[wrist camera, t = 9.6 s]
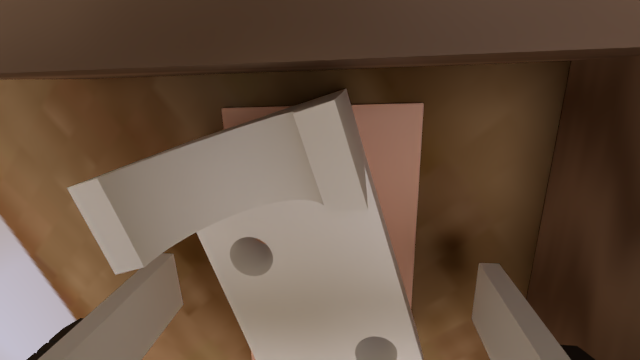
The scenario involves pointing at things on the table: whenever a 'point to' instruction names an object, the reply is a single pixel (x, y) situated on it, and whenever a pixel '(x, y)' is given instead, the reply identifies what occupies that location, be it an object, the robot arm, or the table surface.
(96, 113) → the table surface
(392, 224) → the pad
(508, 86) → the table surface
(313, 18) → the corner walls
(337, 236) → the bracket
